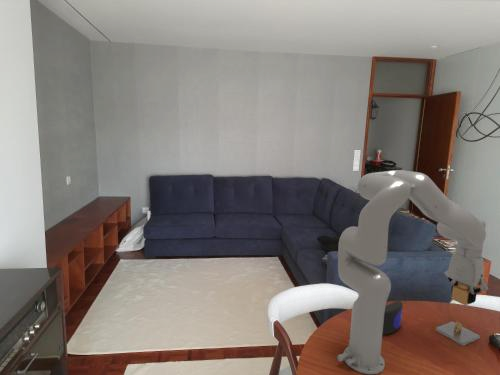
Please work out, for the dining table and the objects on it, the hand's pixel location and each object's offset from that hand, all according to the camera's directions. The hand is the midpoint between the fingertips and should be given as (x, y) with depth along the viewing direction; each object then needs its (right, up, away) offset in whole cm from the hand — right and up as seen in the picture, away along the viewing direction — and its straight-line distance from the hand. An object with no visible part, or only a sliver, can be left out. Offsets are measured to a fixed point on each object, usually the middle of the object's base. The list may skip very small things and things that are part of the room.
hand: (462, 298), depth 118 cm
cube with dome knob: (0, -1, 0) cm, 1 cm away
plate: (-1, -14, +2) cm, 14 cm away
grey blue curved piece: (-26, -13, +5) cm, 29 cm away
